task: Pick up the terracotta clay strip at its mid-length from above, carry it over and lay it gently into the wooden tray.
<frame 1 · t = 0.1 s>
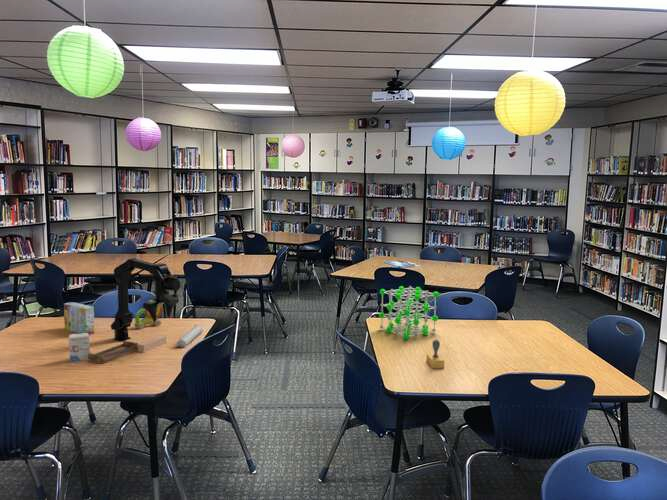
hand: (161, 319, 261), 14 cm above the table, tool pointing down, fingers open, 9 cm apart
molecular structure model: (407, 332, 294), on the table
wooden tray: (114, 355, 249), on the table
strip: (152, 347, 262), on the table
rubber stamp: (435, 364, 242), on the table
snack box: (79, 331, 287), on the table
toy lion: (149, 326, 298), on the table
ink box: (80, 359, 243), on the table
tube: (190, 341, 273), on the table
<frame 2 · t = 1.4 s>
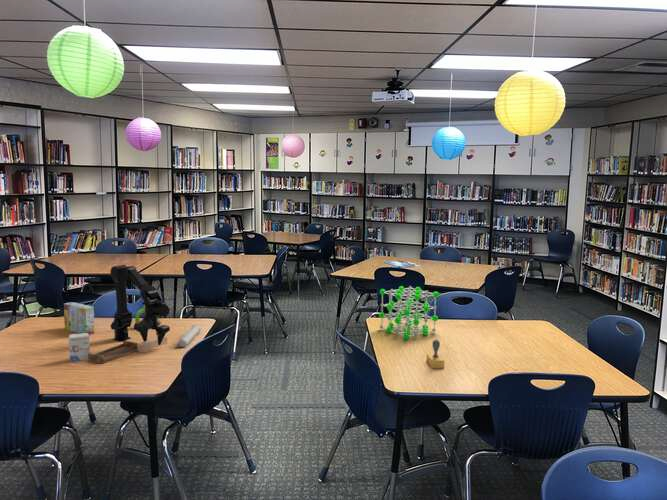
hand: (152, 343, 261), 2 cm above the table, tool pointing down, fingers open, 9 cm apart
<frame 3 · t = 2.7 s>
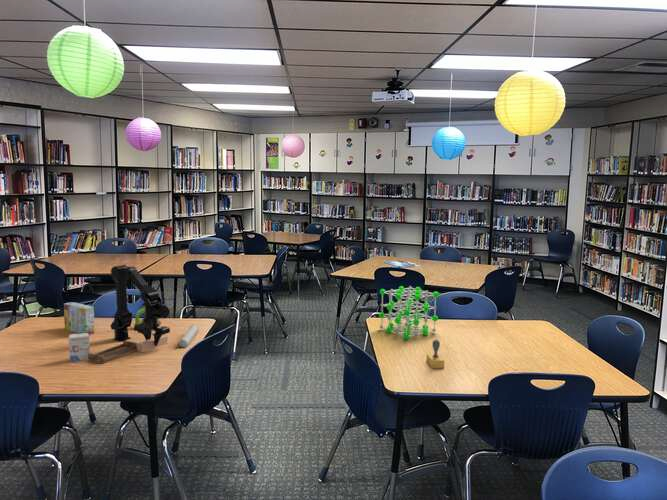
hand: (152, 345, 261), 1 cm above the table, tool pointing down, fingers closed on strip, 4 cm apart
strip: (152, 347, 262), on the table, touching gripper
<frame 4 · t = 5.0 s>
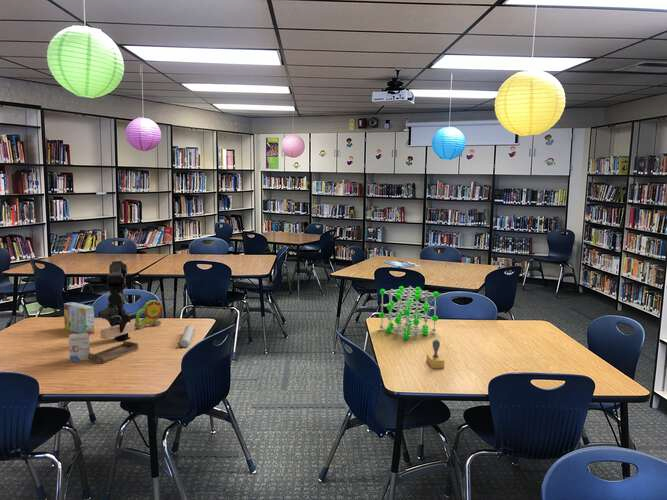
hand: (117, 332, 249), 11 cm above the table, tool pointing down, fingers closed on strip, 4 cm apart
strip: (117, 334, 249), point 10 cm above the table, touching gripper
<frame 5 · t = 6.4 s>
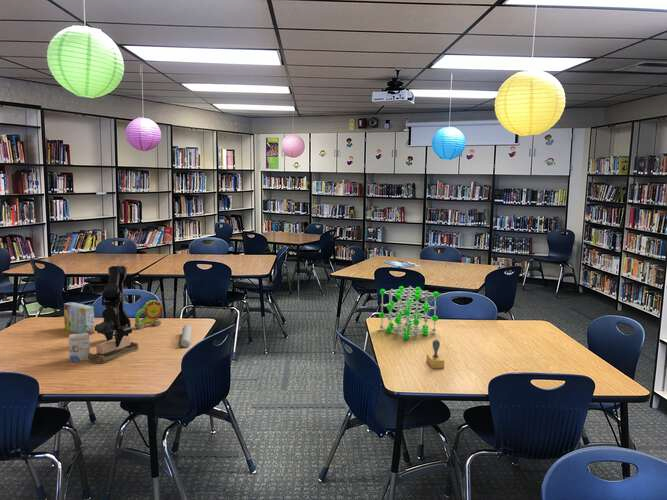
hand: (114, 346, 249), 4 cm above the table, tool pointing down, fingers closed on strip, 4 cm apart
strip: (114, 348, 249), point 3 cm above the table, touching gripper
when the fingers open (3 cm above the table, at t = 7.3 s): strip drops 1 cm, resting on wooden tray.
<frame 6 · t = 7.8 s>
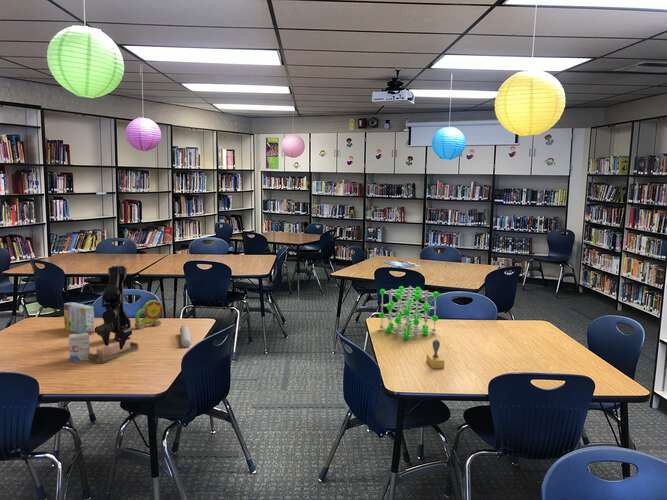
hand: (114, 348, 249), 3 cm above the table, tool pointing down, fingers open, 9 cm apart
strip: (114, 353, 249), point 1 cm above the table, touching wooden tray
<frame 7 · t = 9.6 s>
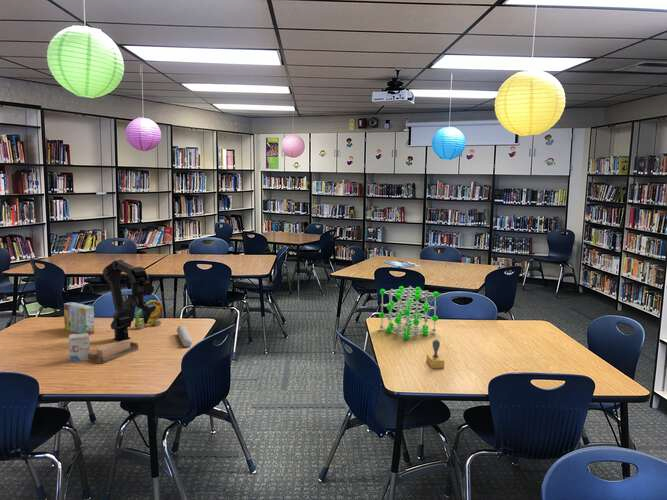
hand: (138, 322, 261), 13 cm above the table, tool pointing down, fingers open, 9 cm apart
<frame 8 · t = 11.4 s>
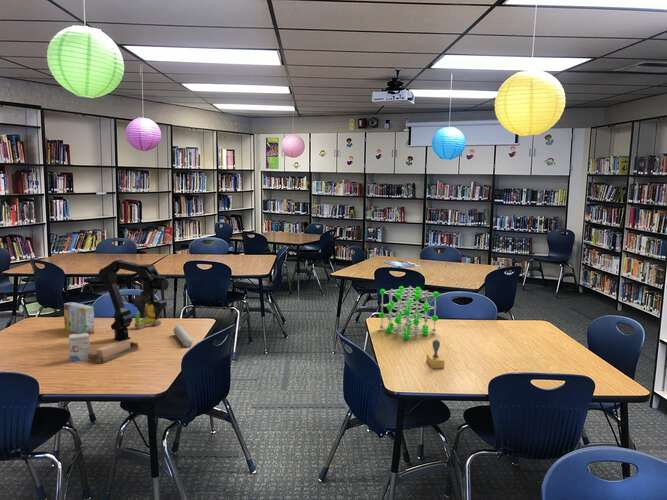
hand: (149, 318, 267), 13 cm above the table, tool pointing down, fingers open, 9 cm apart
at the end: strip inside the target area on the wooden tray (0.0 cm from its centre), point 1.0 cm above the wooden tray's base; the gripper is holding nothing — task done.
